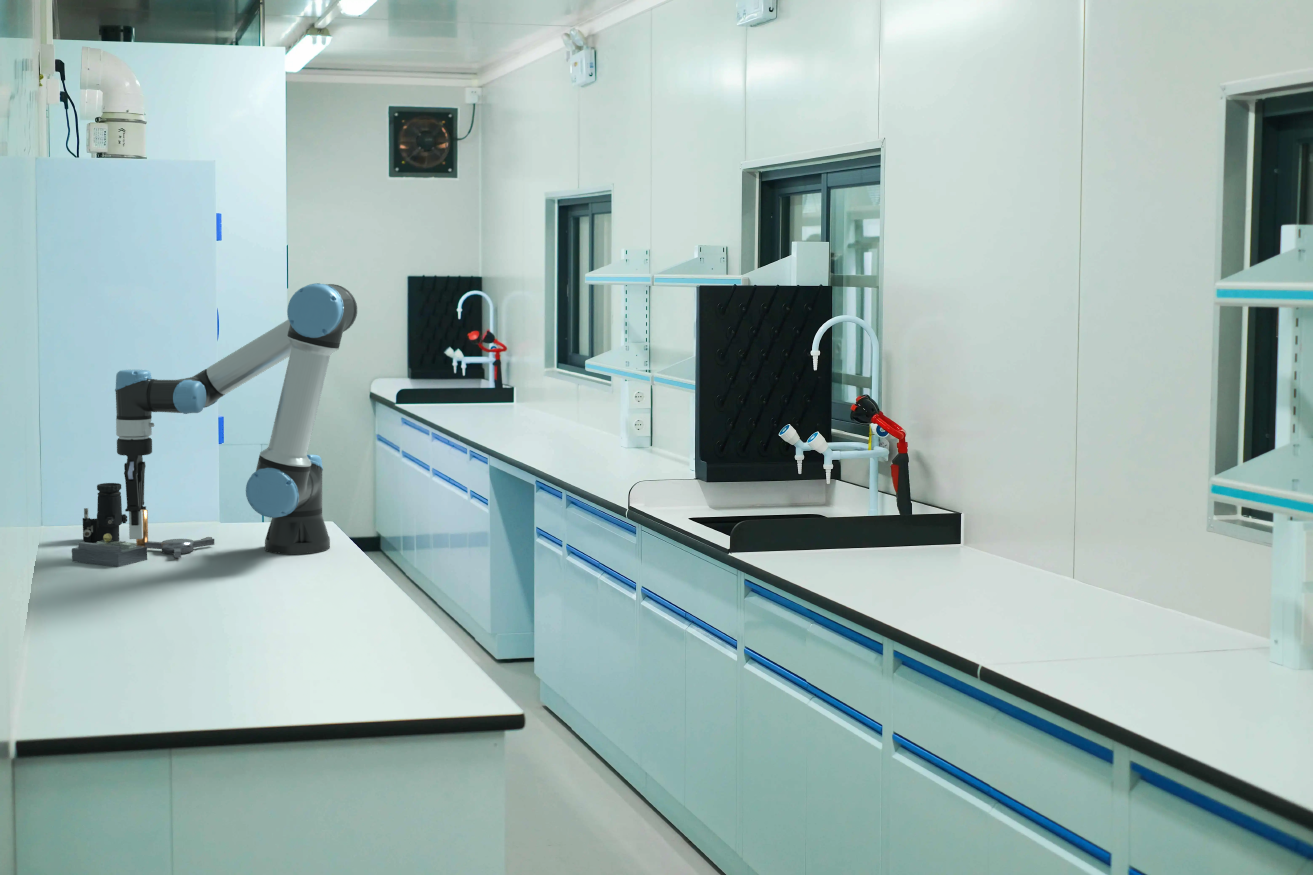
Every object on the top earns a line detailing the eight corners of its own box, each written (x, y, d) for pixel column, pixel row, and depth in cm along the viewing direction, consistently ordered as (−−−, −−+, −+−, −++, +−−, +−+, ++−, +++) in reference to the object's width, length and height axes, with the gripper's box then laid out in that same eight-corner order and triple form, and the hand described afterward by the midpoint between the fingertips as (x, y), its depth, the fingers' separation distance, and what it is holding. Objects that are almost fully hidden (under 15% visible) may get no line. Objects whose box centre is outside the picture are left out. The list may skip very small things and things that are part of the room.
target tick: (205, 543, 311) (205, 539, 311) (201, 543, 312) (201, 539, 311) (212, 541, 314) (212, 537, 314) (207, 540, 314) (207, 536, 314)
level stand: (147, 559, 292) (146, 535, 291) (118, 567, 283) (118, 542, 283) (101, 554, 296) (101, 530, 296) (72, 561, 288) (71, 537, 287)
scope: (81, 482, 311) (125, 481, 316) (82, 538, 313) (126, 536, 317) (81, 488, 304) (127, 486, 308) (83, 545, 306) (128, 542, 310)
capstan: (215, 545, 308) (215, 507, 307) (179, 559, 292) (178, 519, 291) (156, 541, 310) (155, 504, 309) (116, 555, 294) (116, 515, 293)
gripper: (146, 440, 288) (148, 543, 290) (156, 434, 300) (158, 532, 303) (111, 440, 286) (113, 544, 289) (122, 433, 299) (124, 533, 301)
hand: (136, 538), depth 296 cm, fingers closed
